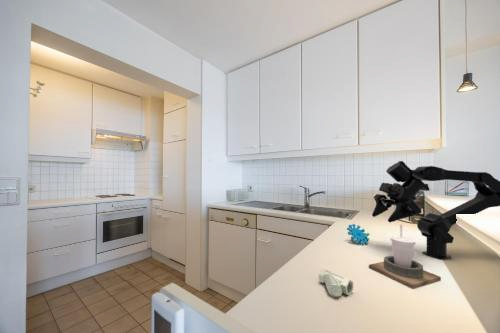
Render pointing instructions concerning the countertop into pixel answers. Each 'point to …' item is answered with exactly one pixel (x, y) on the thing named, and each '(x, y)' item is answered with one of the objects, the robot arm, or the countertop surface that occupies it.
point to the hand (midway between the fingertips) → (380, 218)
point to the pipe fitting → (335, 283)
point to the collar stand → (405, 273)
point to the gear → (358, 234)
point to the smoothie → (402, 249)
